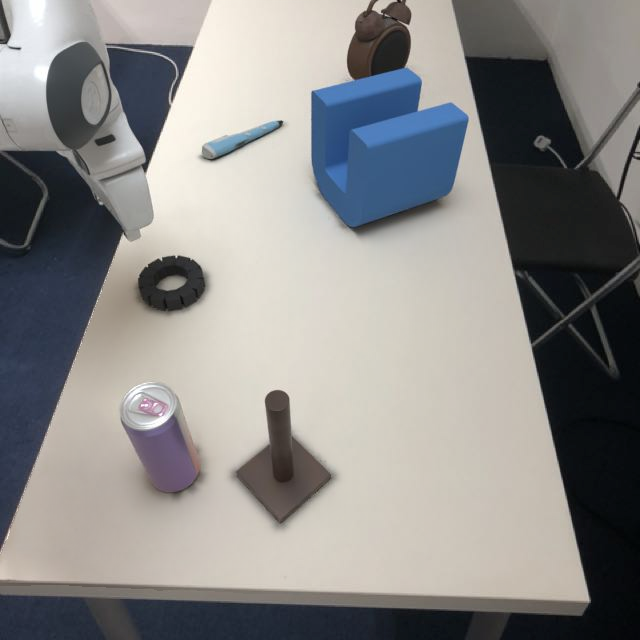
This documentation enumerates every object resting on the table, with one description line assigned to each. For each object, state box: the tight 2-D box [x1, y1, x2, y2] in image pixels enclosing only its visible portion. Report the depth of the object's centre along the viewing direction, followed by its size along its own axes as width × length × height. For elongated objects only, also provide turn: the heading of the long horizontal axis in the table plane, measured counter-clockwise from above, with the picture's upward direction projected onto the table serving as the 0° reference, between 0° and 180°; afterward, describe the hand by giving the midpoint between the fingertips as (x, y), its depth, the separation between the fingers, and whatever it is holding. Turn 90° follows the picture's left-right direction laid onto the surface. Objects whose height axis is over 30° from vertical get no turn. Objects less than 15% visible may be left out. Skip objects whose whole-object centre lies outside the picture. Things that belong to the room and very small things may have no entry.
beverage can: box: [119, 381, 201, 493], centre depth 62 cm, size 6×6×15 cm
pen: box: [201, 120, 284, 160], centre depth 112 cm, size 19×3×3 cm, turn 132°
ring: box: [137, 254, 206, 312], centre depth 87 cm, size 10×10×2 cm
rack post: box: [235, 389, 332, 524], centre depth 61 cm, size 8×8×17 cm
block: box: [310, 67, 470, 228], centre depth 96 cm, size 18×18×18 cm
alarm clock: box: [346, 0, 413, 81], centre depth 120 cm, size 15×7×20 cm, turn 132°
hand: (117, 218), depth 77 cm, fingers open, 8 cm apart
